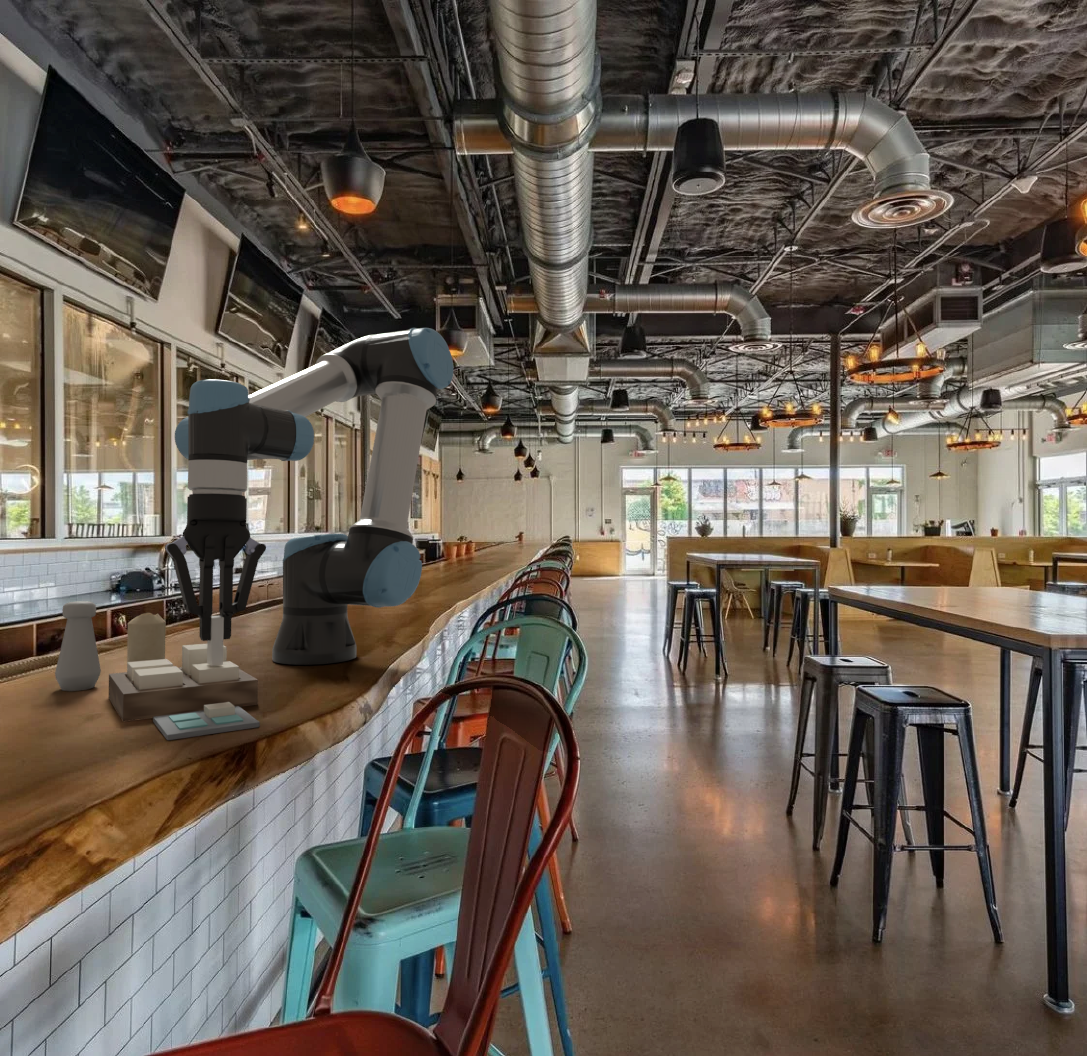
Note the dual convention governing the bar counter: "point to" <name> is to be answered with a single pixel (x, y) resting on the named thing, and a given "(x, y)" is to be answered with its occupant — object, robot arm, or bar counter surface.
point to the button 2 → (157, 677)
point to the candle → (146, 638)
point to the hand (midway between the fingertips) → (214, 663)
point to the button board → (178, 696)
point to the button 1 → (145, 666)
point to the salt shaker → (78, 649)
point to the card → (205, 721)
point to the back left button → (196, 656)
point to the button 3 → (214, 672)
